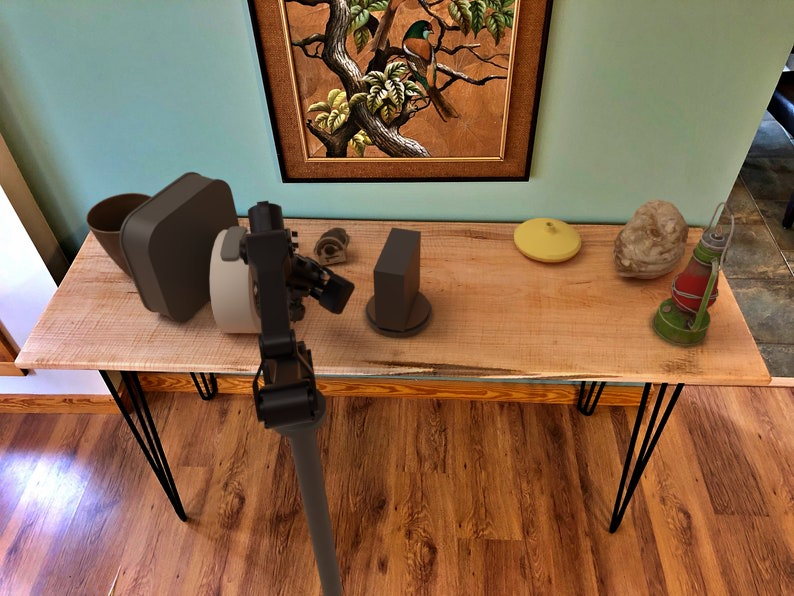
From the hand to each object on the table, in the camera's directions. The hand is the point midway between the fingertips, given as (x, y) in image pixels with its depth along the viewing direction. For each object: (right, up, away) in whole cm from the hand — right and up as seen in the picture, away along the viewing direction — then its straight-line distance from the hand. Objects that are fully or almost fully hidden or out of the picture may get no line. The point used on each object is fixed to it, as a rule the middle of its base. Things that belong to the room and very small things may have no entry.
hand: (333, 284), depth 119 cm
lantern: (+70, -9, +9) cm, 72 cm away
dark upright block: (+12, -5, +12) cm, 18 cm away
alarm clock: (-19, -5, +15) cm, 25 cm away
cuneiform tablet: (-16, +9, +30) cm, 35 cm away
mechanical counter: (-2, +8, +30) cm, 31 cm away
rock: (+68, +5, +24) cm, 73 cm away
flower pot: (-47, +4, +26) cm, 53 cm away
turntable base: (+12, -6, +13) cm, 19 cm away
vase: (+48, +9, +30) cm, 57 cm away
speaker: (-32, -1, +20) cm, 38 cm away
